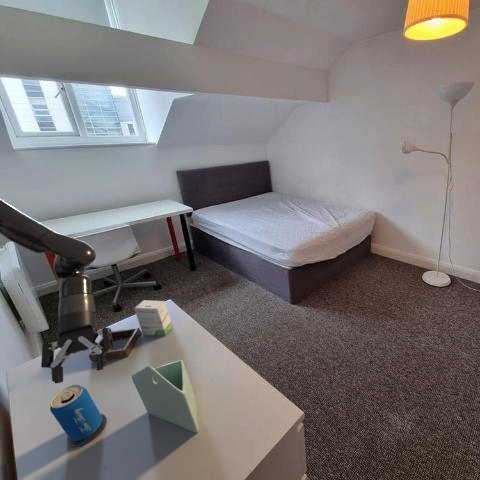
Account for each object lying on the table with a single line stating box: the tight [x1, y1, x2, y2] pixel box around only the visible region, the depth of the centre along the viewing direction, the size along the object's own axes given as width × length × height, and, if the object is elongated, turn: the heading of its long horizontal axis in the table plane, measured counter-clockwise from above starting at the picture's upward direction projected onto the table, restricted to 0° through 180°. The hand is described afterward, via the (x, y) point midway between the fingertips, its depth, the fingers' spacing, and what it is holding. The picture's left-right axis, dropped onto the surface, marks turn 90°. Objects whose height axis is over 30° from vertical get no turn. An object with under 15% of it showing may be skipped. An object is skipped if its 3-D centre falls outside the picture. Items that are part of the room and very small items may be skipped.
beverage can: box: [49, 384, 102, 441], centre depth 64 cm, size 6×6×12 cm
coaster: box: [66, 413, 108, 448], centre depth 66 cm, size 8×8×1 cm
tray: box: [88, 326, 143, 363], centre depth 90 cm, size 11×11×3 cm
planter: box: [131, 359, 200, 434], centre depth 67 cm, size 16×8×20 cm, turn 71°
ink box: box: [133, 299, 173, 337], centre depth 95 cm, size 9×5×12 cm, turn 86°
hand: (80, 376), depth 68 cm, fingers open, 8 cm apart
